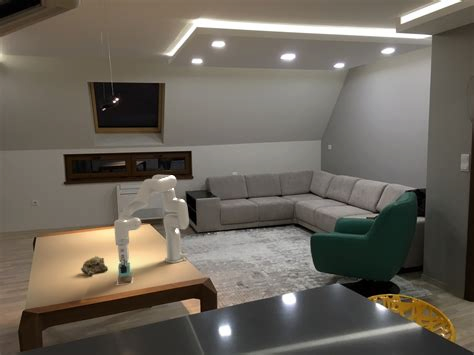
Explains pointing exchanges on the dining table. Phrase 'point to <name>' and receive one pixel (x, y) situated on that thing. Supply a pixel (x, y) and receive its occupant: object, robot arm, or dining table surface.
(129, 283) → the grey square mat
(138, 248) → the dining table surface
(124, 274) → the teal block
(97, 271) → the mineral specimen
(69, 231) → the dining table surface
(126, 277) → the walnut block
